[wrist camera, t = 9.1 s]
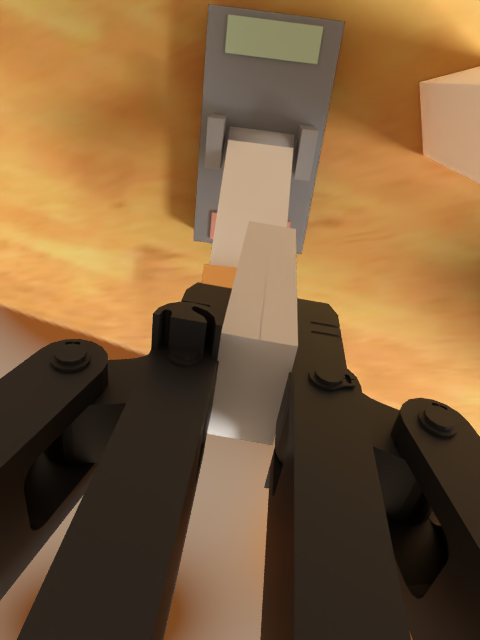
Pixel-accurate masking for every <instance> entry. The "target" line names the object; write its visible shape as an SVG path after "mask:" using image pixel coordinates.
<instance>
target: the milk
mask: <svg viewBox="0 0 480 640" xmlns="http://www.w3.org/2000/svg"><path fill="white" fill-rule="evenodd" d="M419 85H420V104H421V122H422V141H423V155H424V156H425V157H427V158H429V159H431V160H433V161H435V162H437V163H439V164H441V165H443V166H445V167H447V168H449V169H451V170H453V171H455V172H457V173H459V174H461V175H463V176H465V177H467V178H469V179H471V180H473V181H475V182H477V183H479V184H480V66H479V67H475V68H471V69H468V70H464V71H460V72H456V73H452V74H449V75H445V76H441V77H437V78H433V79H429V80H426V81H422V82H420V83H419Z"/></svg>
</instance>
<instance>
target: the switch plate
mask: <svg viewBox="0 0 480 640" xmlns="http://www.w3.org/2000/svg"><path fill="white" fill-rule="evenodd" d="M344 24H345V21H337V20H329V19H321V18H313V17H305V16H298V15H290V14H282V13H274V12H266V11H259V10H251V9H243V8H235V7H227V6H220V5H212V4H209V5H208V21H207V37H206V52H205V68H204V84H203V99H202V115H201V131H200V146H199V162H198V178H197V194H196V209H195V225H194V241H199V242H207V243H213V237H214V231H215V224H216V217H217V211H218V204H219V198H220V191H221V184H222V178H223V171H224V165H225V158H226V151H227V145H228V138H229V130H230V126H232V127H240V128H248V129H256V130H264V131H272V132H280V133H288V134H294V147H293V159H292V171H291V184H290V196H289V209H288V221H287V228H293V229H296V253H297V254H302V249H303V244H304V238H305V233H306V227H307V222H308V217H309V211H310V206H311V201H312V195H313V190H314V185H315V179H316V174H317V168H318V163H319V158H320V152H321V147H322V142H323V136H324V131H325V126H326V120H327V115H328V109H329V104H330V99H331V93H332V88H333V83H334V77H335V72H336V67H337V61H338V56H339V50H340V45H341V40H342V34H343V29H344Z"/></svg>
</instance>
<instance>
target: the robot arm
mask: <svg viewBox="0 0 480 640" xmlns="http://www.w3.org/2000/svg"><path fill="white" fill-rule="evenodd" d="M339 328H340V325H339V319H338V315H337V314H336V312H335V311H334V310H333V309H332V308H331V306H330V305H329V304H326V303H321V302H315V301H309V300H303V299H298V298H297V266H296V229H293V228H287V227H281V226H275V225H270V224H264V223H258V222H252V221H249V223H248V227H247V231H246V235H245V239H244V243H243V247H242V251H241V255H240V259H239V263H238V267H237V271H236V275H235V279H234V283H233V287H232V288H227V287H221V286H215V285H210V284H204V283H196V284H194V285H193V286H191V287H190V288H188V289H187V290H186V291H185V294H184V296H183V298H182V301H181V302H176V303H169V304H166V305H164V306H162V307H159V308H158V309H157V310H156V311H155V312H154V313H153V325H152V346H151V351H150V353H149V354H148V355H146V356H143V357H139V358H133V359H121V360H108V354H107V353H106V351H105V350H104V349H103V347H101V346H100V345H98V344H96V343H94V342H91V341H86V340H81V339H70V340H69V339H67V340H63V341H58V342H54V343H51V344H49V345H47V346H45V347H43V348H42V349H40V350H39V351H37V352H36V353H35V354H33V355H32V356H31V357H29V358H28V359H27V360H25V361H24V362H22V363H21V364H20V365H18V366H17V367H16V368H14V369H13V370H12V371H10V372H9V373H8V374H6V375H5V376H4V377H2V378H1V379H0V600H1V599H2V598H3V596H4V595H5V594H6V592H7V591H8V590H9V589H10V587H11V586H12V585H13V584H14V582H15V581H16V580H17V579H18V577H19V576H20V574H21V573H22V572H23V571H24V570H25V568H26V567H27V566H28V565H29V563H30V562H31V561H32V560H33V558H34V557H35V556H36V554H37V553H38V552H39V551H40V549H41V548H42V547H43V545H44V544H45V543H46V542H47V540H48V539H49V538H50V536H51V535H52V534H53V533H54V532H55V530H56V529H57V528H58V527H59V525H60V524H61V523H62V521H63V520H64V519H65V517H66V516H67V515H68V514H69V513H70V511H71V510H72V509H73V508H74V506H75V505H76V504H77V502H78V501H79V500H80V499H81V497H82V496H83V495H84V496H83V498H82V500H81V502H80V504H79V506H78V509H77V511H76V513H75V515H74V517H73V519H72V521H71V524H70V526H69V528H68V530H67V532H66V535H65V537H64V539H63V541H62V543H61V545H60V547H59V550H58V552H57V554H56V556H55V558H54V561H53V563H52V565H51V567H50V569H49V571H48V573H47V575H46V578H45V580H44V582H43V584H42V586H41V588H40V591H39V593H38V595H37V597H36V599H35V601H34V604H33V606H32V608H31V610H30V612H29V614H28V616H27V619H26V621H25V623H24V625H23V627H22V629H21V632H20V634H19V636H18V638H17V640H163V639H164V635H165V631H166V626H167V621H168V617H169V612H170V607H171V603H172V598H173V593H174V589H175V583H176V580H177V575H178V570H179V565H180V561H181V556H182V552H183V547H184V542H185V538H186V533H187V529H188V524H189V519H190V515H191V510H192V505H193V501H194V496H195V491H196V486H197V482H198V477H199V473H200V468H201V464H202V459H203V454H204V448H205V440H206V435H207V434H212V435H218V436H224V437H229V438H234V439H240V440H246V441H251V442H257V443H263V444H268V445H272V444H273V441H274V437H275V436H276V438H275V449H274V453H273V456H272V460H271V464H270V468H269V471H268V475H267V479H266V483H265V488H269V499H268V517H267V534H266V551H265V569H264V587H263V604H262V622H261V640H411V638H410V634H411V636H412V638H413V640H480V437H479V435H478V434H477V433H476V431H475V430H474V429H473V427H472V426H471V425H470V423H469V422H468V421H467V420H466V419H465V418H464V417H463V416H462V415H461V414H460V413H458V412H457V411H455V410H454V409H452V408H451V407H449V406H447V405H445V404H443V403H440V402H438V401H435V400H431V399H425V398H415V399H409V400H408V401H407V402H405V403H404V404H402V407H401V409H400V410H397V409H395V408H392V407H390V406H387V405H385V404H382V403H380V402H378V401H375V400H373V399H371V398H369V397H368V396H366V395H365V394H363V393H362V390H361V385H360V383H359V381H358V379H357V377H356V376H355V375H354V374H353V373H352V372H351V371H350V370H348V369H347V366H346V360H345V354H344V349H343V343H342V338H341V331H340V329H339ZM275 433H276V435H275ZM409 631H410V633H409Z"/></svg>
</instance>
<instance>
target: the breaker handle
mask: <svg viewBox="0 0 480 640" xmlns="http://www.w3.org/2000/svg"><path fill="white" fill-rule="evenodd" d="M293 147H294V134H288V133H280V132H272V131H264V130H256V129H248V128H240V127H232V126H230V130H229V138H228V145H227V151H226V158H225V165H224V171H223V178H222V184H221V191H220V198H219V204H218V211H217V217H216V224H215V231H214V237H213V244H212V250H211V257H210V264H209V265H208V264H204V270H203V277H202V283H204V284H210V285H215V286H221V287H227V288H232V287H233V283H234V279H235V275H236V271H237V267H238V263H239V259H240V255H241V251H242V247H243V243H244V239H245V235H246V231H247V227H248V223H249V221H252V222H258V223H264V224H270V225H275V226H281V227H287V221H288V209H289V196H290V184H291V171H292V159H293Z"/></svg>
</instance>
